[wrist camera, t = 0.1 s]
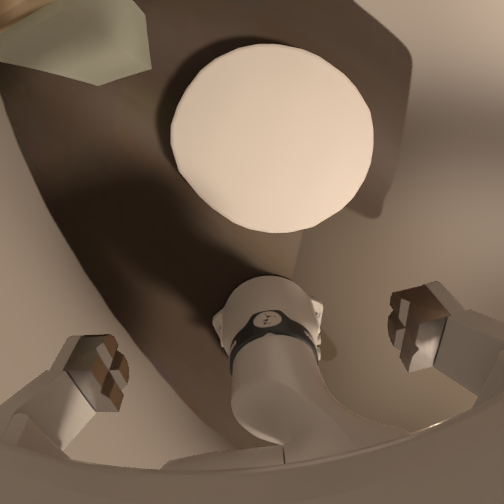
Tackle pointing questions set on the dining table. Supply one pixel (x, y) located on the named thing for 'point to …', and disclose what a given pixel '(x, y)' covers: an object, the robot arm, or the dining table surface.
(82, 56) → the shelf block
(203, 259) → the dining table surface
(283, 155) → the plate
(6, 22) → the wooden paddle
